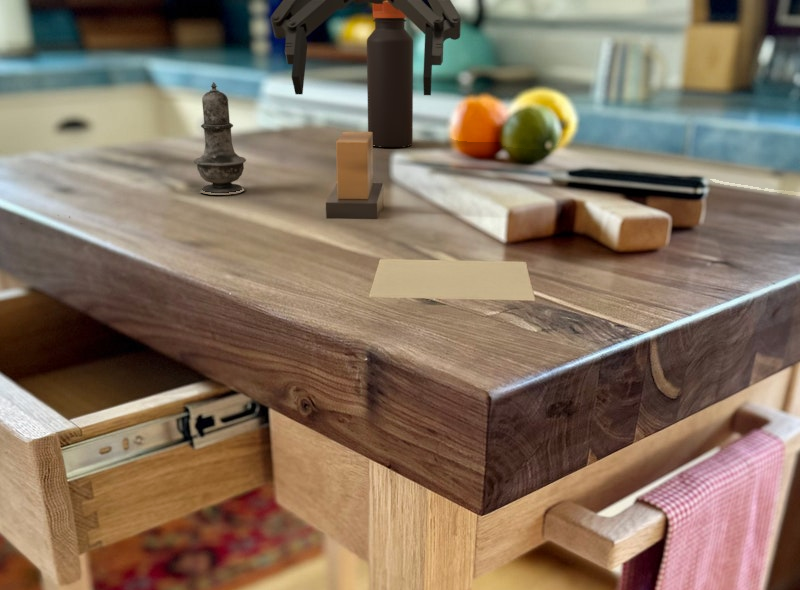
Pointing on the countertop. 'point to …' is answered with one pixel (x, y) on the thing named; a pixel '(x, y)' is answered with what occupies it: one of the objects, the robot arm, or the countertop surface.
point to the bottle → (390, 78)
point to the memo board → (452, 280)
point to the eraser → (355, 180)
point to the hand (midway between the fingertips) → (361, 86)
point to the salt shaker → (218, 146)
